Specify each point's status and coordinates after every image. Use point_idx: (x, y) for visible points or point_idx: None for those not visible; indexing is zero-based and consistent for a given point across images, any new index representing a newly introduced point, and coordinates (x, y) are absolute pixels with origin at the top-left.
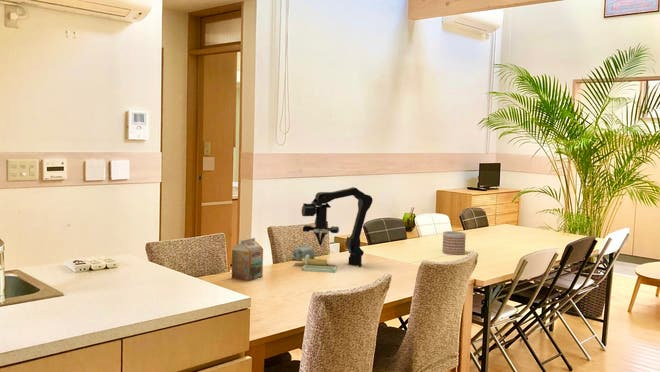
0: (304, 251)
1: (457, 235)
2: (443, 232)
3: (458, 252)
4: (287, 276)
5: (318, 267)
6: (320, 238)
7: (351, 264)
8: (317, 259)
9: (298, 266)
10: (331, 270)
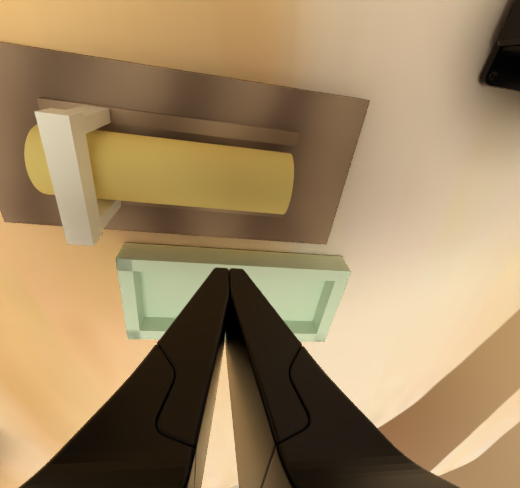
0: None
1: None
2: None
3: None
4: (97, 394)
5: None
6: (216, 356)
7: (516, 64)
8: (202, 196)
9: (60, 223)
10: (307, 339)
